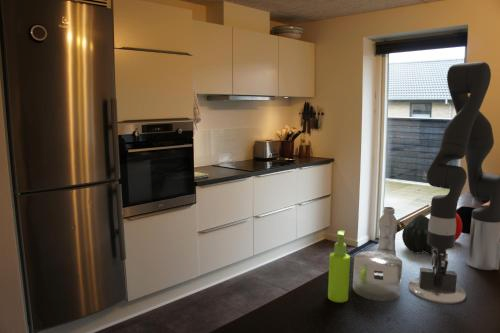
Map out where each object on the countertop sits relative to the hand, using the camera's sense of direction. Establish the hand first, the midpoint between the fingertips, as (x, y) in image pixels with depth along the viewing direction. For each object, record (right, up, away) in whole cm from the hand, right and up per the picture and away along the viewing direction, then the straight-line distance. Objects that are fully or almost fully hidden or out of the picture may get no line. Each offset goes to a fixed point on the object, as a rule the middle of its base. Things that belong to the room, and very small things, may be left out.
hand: (436, 284), depth 127 cm
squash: (+10, +3, +35) cm, 36 cm away
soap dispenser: (-31, -3, -4) cm, 32 cm away
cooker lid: (0, -2, 0) cm, 2 cm away
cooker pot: (-19, -2, 0) cm, 19 cm away
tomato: (+25, +5, +48) cm, 54 cm away
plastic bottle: (-8, +1, +24) cm, 25 cm away
